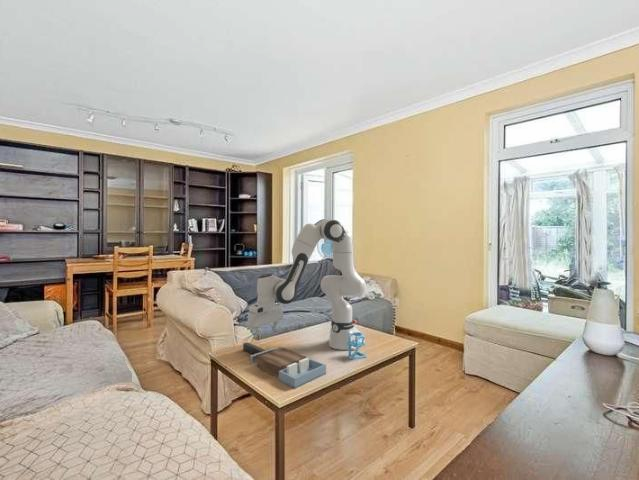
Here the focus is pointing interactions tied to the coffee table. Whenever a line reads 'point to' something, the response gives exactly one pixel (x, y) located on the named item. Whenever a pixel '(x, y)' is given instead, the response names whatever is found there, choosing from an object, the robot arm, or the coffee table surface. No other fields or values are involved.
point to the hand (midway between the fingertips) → (266, 331)
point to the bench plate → (278, 360)
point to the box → (303, 374)
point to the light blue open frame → (356, 345)
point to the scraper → (255, 351)
